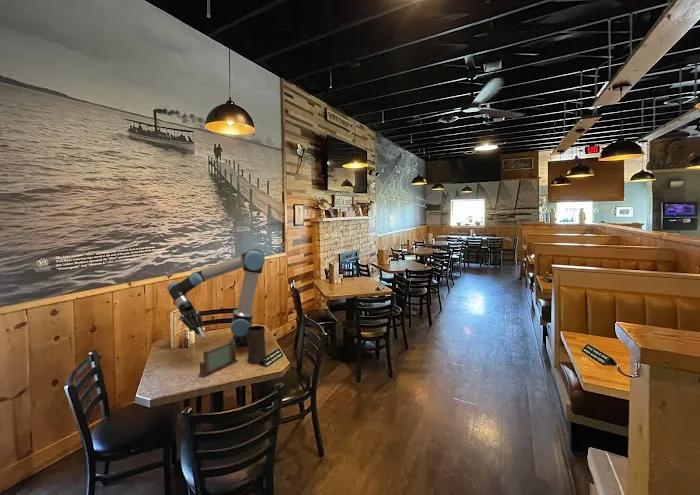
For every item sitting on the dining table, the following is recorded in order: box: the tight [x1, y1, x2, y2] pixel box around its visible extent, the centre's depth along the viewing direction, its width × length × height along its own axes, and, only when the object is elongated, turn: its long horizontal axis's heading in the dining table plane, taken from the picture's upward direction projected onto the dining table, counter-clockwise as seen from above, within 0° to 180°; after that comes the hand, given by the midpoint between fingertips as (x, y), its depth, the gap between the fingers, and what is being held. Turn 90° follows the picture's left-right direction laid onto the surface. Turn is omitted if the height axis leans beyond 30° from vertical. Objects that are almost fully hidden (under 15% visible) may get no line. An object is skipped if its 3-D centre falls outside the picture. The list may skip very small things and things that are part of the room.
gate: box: [202, 341, 232, 373], centre depth 188 cm, size 17×2×11 cm, turn 149°
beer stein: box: [247, 325, 267, 365], centre depth 201 cm, size 15×11×20 cm
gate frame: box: [198, 339, 239, 378], centre depth 189 cm, size 23×4×13 cm, turn 149°
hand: (203, 337), depth 192 cm, fingers closed
